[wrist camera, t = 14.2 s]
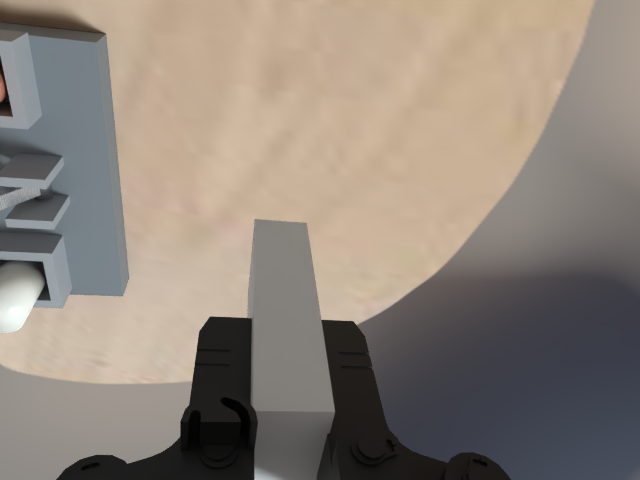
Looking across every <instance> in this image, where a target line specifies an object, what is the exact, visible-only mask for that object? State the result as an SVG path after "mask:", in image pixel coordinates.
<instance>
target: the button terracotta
mask: <svg viewBox="0 0 640 480" xmlns="http://www.w3.org/2000/svg"><path fill="white" fill-rule="evenodd" d="M8 96H9V95H8V90H7V85H6V80H5V75H4V71H3V66H2V61H1V57H0V102H2V101H3V100H4V99H5V98H7V97H8Z"/></svg>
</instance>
